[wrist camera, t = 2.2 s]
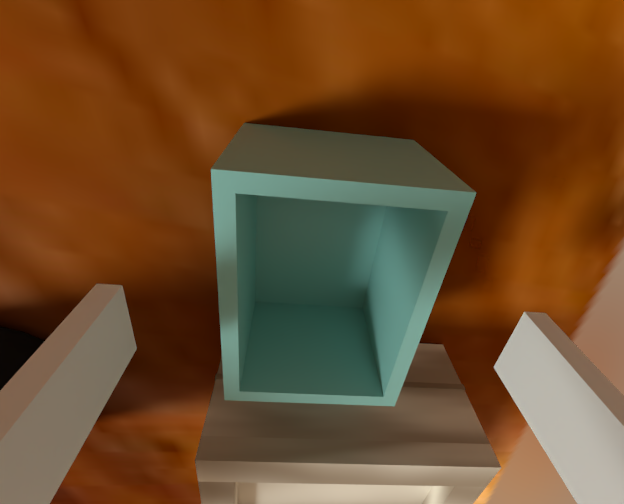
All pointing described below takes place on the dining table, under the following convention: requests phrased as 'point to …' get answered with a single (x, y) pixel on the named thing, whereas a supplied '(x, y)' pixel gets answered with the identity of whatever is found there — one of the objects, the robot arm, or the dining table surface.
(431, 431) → the beige crate
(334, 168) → the teal crate
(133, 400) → the dining table surface
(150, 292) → the dining table surface
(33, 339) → the coffee jar
